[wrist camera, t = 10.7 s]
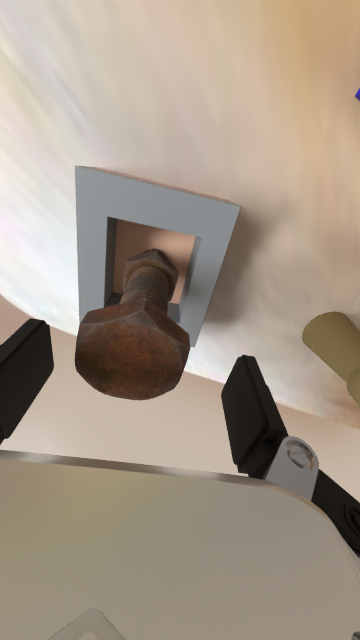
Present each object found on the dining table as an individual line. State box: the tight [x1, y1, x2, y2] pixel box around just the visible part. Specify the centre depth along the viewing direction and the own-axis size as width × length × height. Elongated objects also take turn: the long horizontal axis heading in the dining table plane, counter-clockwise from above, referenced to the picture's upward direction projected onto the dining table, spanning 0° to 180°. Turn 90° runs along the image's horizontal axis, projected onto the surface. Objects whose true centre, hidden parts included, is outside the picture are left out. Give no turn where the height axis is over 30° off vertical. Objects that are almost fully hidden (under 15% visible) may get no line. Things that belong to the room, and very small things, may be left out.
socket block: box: [75, 166, 240, 347], centre depth 22 cm, size 12×14×5 cm
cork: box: [302, 312, 360, 405], centre depth 25 cm, size 6×6×11 cm
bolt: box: [75, 248, 190, 400], centre depth 17 cm, size 6×5×15 cm
